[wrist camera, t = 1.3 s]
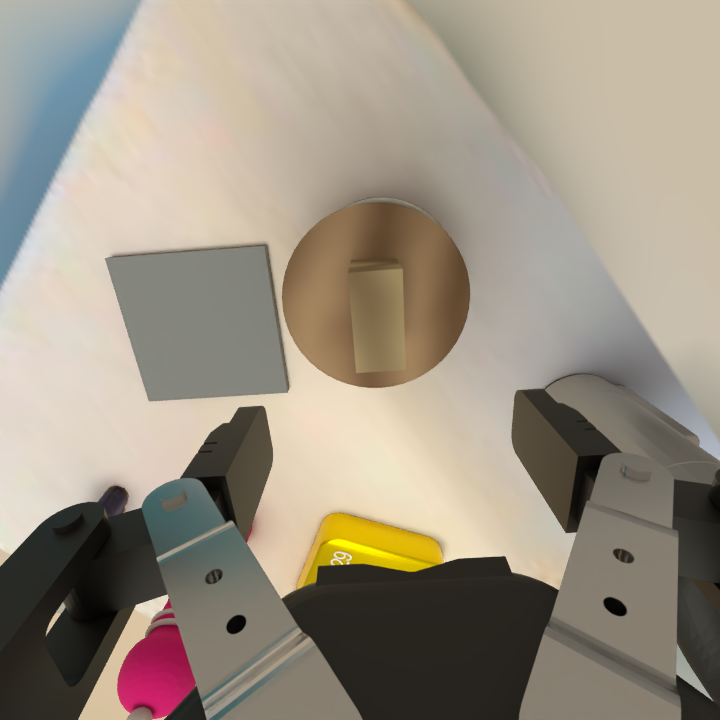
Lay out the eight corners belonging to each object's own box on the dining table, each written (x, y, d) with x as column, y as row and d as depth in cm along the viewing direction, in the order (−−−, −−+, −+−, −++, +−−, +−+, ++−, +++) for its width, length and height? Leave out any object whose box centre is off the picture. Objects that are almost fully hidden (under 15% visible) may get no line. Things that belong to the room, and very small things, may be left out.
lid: (469, 194, 25) (499, 191, 20) (464, 376, 30) (487, 415, 24) (271, 210, 26) (246, 211, 20) (297, 387, 30) (282, 427, 25)
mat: (266, 245, 34) (264, 246, 33) (289, 388, 39) (287, 392, 38) (111, 256, 35) (105, 258, 34) (153, 396, 40) (148, 401, 39)
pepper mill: (256, 501, 45) (180, 711, 26) (256, 548, 47) (186, 769, 29) (193, 495, 44) (71, 703, 26) (196, 543, 47) (87, 762, 28)
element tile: (400, 618, 52) (403, 656, 48) (293, 591, 51) (286, 628, 46) (445, 538, 47) (453, 573, 43) (327, 506, 45) (323, 538, 41)
